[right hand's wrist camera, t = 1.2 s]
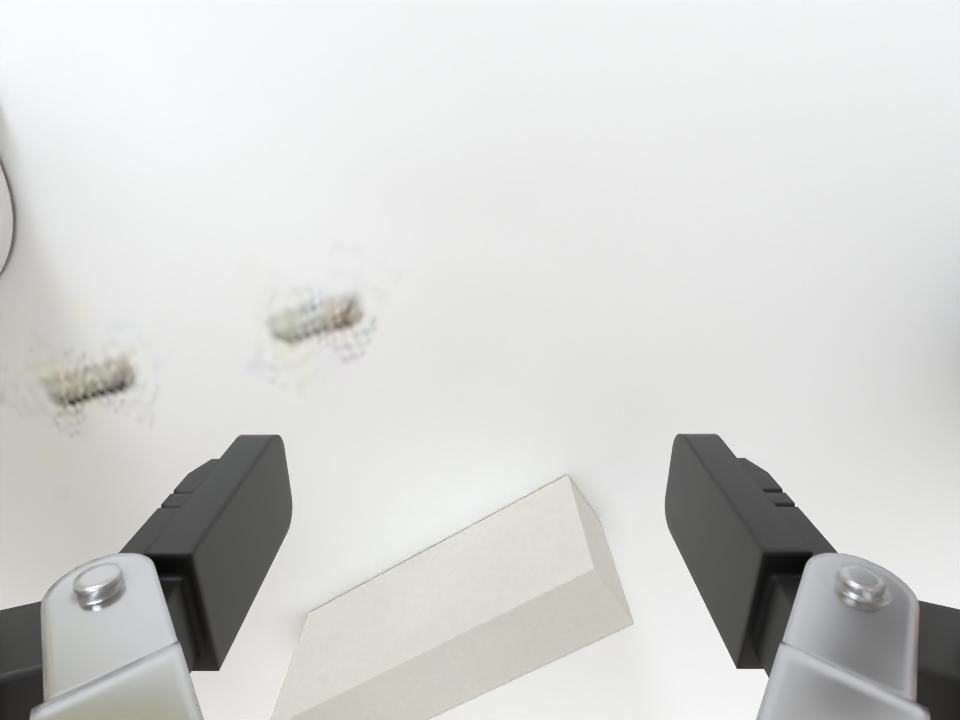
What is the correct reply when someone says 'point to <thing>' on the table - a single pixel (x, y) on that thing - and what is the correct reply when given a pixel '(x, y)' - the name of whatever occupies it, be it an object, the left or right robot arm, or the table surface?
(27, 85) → the table surface
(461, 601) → the bar
